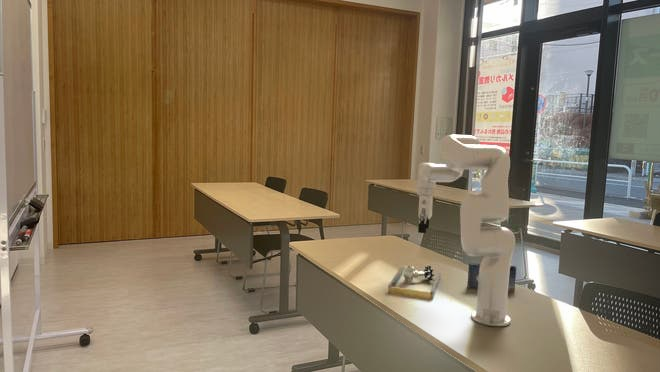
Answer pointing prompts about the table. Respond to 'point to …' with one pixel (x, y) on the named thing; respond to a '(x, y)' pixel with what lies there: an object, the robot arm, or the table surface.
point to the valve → (417, 274)
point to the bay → (410, 292)
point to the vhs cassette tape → (474, 277)
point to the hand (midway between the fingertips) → (423, 230)
